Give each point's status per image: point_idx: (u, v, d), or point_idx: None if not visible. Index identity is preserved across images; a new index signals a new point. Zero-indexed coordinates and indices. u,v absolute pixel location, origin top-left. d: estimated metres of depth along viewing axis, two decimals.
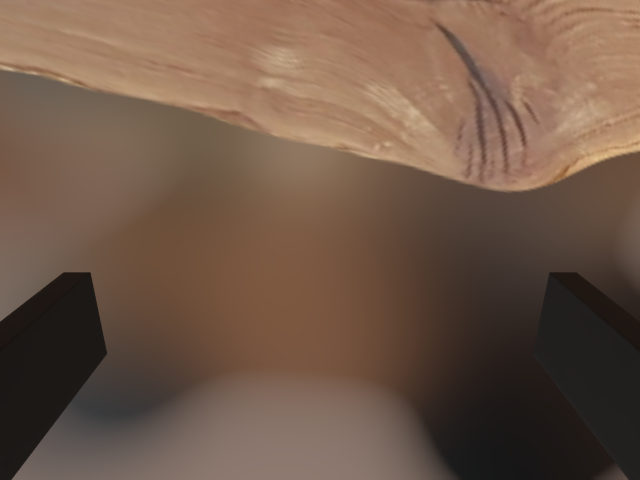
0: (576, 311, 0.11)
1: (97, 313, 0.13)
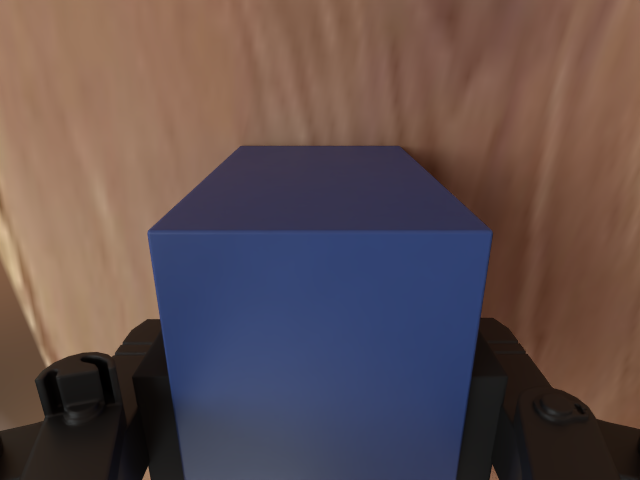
0: None
1: None
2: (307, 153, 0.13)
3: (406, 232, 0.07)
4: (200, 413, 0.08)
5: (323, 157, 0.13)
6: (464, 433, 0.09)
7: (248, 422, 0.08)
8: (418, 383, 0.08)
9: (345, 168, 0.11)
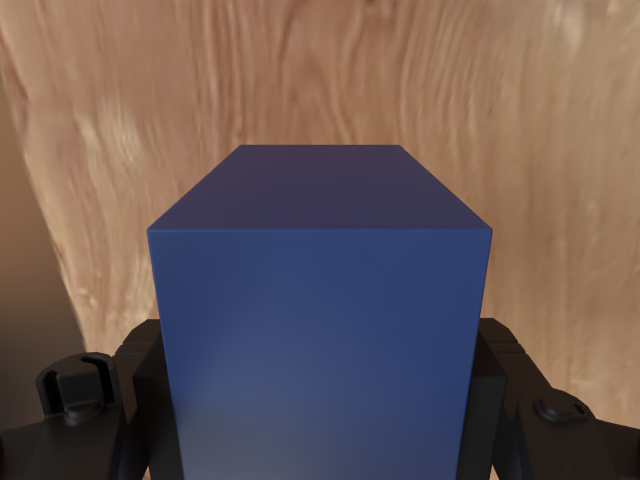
0: None
1: None
2: (307, 152, 0.13)
3: (405, 230, 0.07)
4: (198, 411, 0.08)
5: (323, 156, 0.13)
6: (464, 433, 0.09)
7: (248, 420, 0.08)
8: (417, 381, 0.08)
9: (345, 167, 0.11)
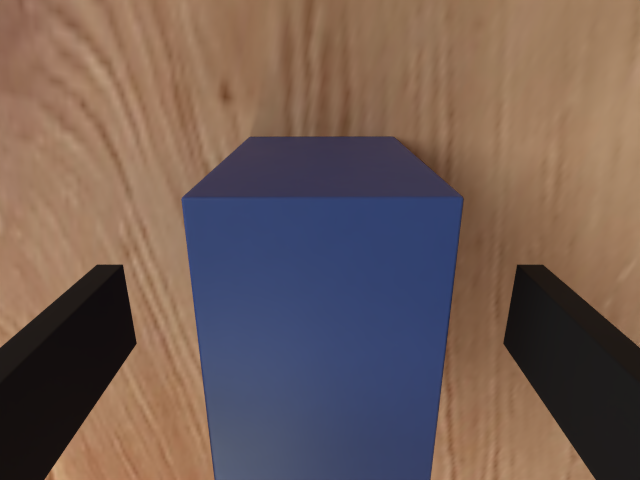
0: (538, 300, 0.11)
1: (128, 304, 0.13)
2: (310, 142, 0.15)
3: (393, 198, 0.08)
4: (221, 354, 0.10)
5: (324, 145, 0.14)
6: None
7: (262, 363, 0.10)
8: (404, 327, 0.09)
9: (344, 153, 0.13)
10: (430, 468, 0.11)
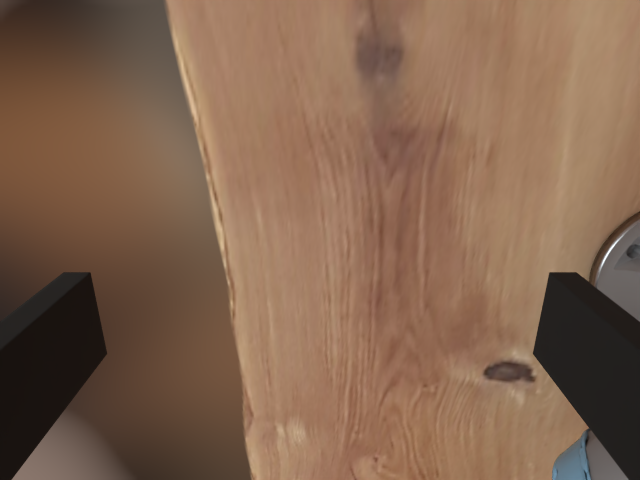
0: (575, 311, 0.11)
1: (97, 313, 0.13)
2: None
3: None
4: None
5: None
6: None
7: None
8: None
9: None
10: None
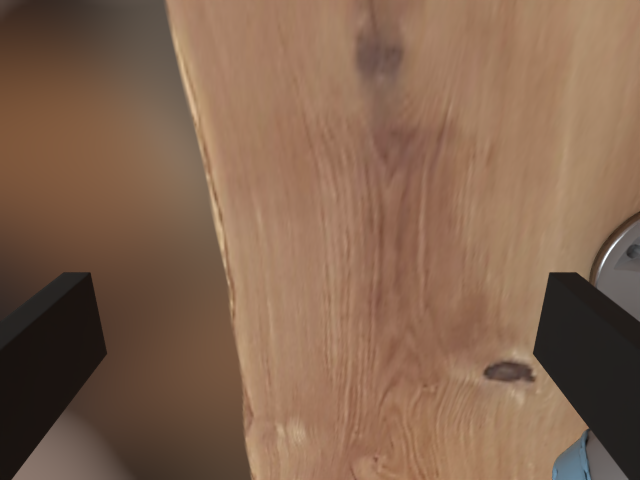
0: (575, 311, 0.11)
1: (97, 313, 0.13)
2: None
3: None
4: None
5: None
6: None
7: None
8: None
9: None
10: None
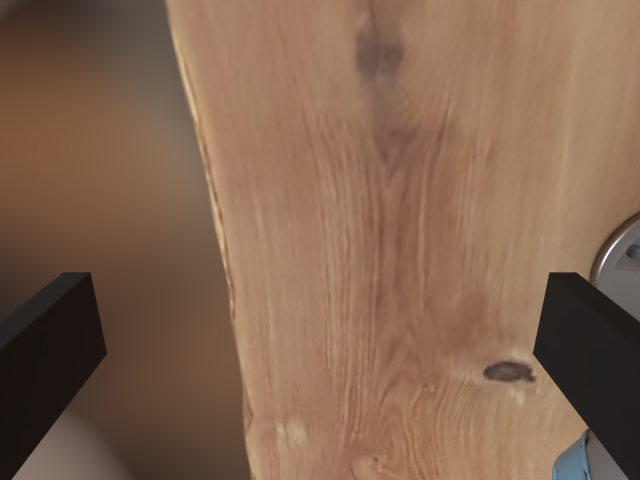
0: (575, 311, 0.11)
1: (97, 313, 0.13)
2: None
3: None
4: None
5: None
6: None
7: None
8: None
9: None
10: None
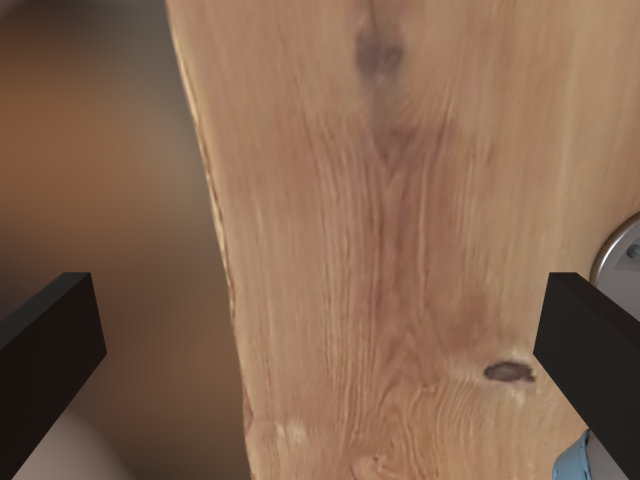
0: (575, 311, 0.11)
1: (97, 313, 0.13)
2: None
3: None
4: None
5: None
6: None
7: None
8: None
9: None
10: None
